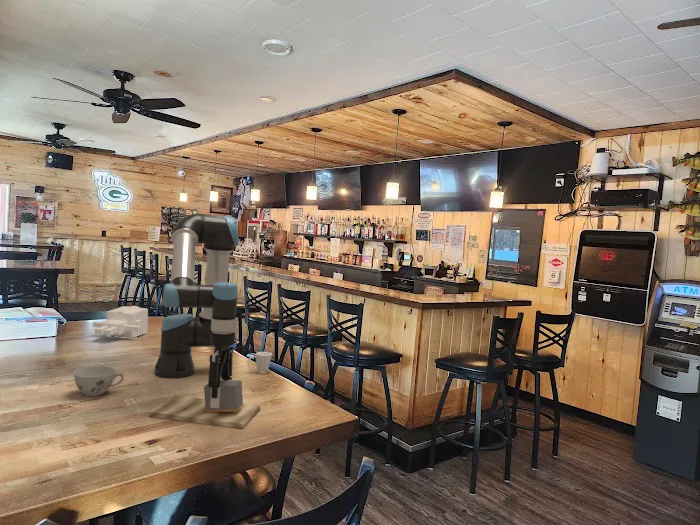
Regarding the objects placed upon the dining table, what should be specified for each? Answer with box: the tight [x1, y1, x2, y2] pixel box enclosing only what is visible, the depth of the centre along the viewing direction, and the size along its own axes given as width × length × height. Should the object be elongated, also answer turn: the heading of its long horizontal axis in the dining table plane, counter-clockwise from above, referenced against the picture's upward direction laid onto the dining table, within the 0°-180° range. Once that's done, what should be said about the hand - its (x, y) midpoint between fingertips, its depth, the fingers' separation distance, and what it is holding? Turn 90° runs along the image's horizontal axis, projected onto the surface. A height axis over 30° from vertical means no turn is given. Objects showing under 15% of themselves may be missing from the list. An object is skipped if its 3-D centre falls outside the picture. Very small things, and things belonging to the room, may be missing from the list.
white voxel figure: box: [92, 305, 149, 338], centre depth 238 cm, size 15×25×28 cm
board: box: [148, 394, 261, 430], centre depth 147 cm, size 30×16×2 cm, turn 83°
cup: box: [247, 351, 273, 374], centre depth 195 cm, size 7×10×8 cm
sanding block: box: [203, 379, 244, 412], centre depth 147 cm, size 10×6×8 cm, turn 85°
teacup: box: [73, 365, 125, 397], centre depth 157 cm, size 15×12×8 cm
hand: (219, 403), depth 147 cm, fingers closed on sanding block, 6 cm apart
